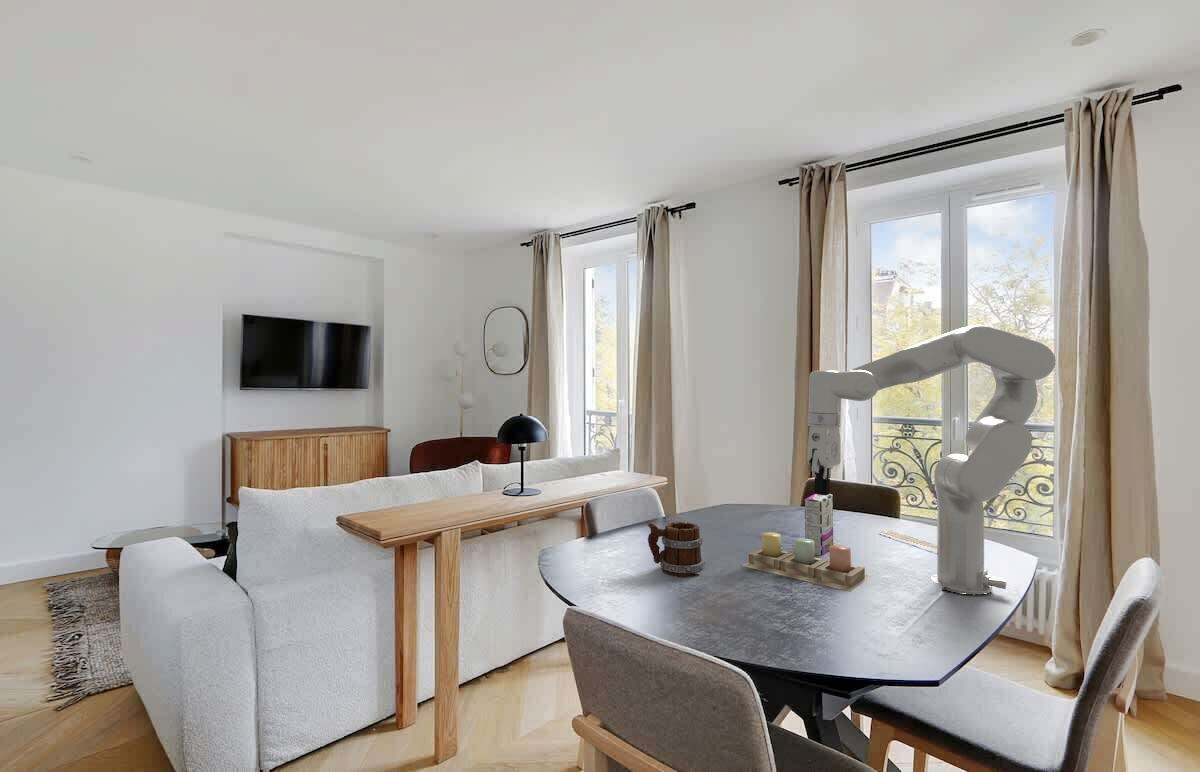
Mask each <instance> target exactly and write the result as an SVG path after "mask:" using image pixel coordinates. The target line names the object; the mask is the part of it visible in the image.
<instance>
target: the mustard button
mask: <svg viewBox="0 0 1200 772" xmlns="http://www.w3.org/2000/svg"><path fill="white" fill-rule="evenodd" d="M761 548H762V554H764V555H767V556H780V555H781V551H782V535H781V534H780V533H777V532H770V531H769V532H763V533H761Z"/></svg>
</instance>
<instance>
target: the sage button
mask: <svg viewBox="0 0 1200 772" xmlns="http://www.w3.org/2000/svg"><path fill="white" fill-rule="evenodd" d="M793 541H794V543H793V544H794V545H793V548H794V549H793V550H794V551H793V553H794V560H795V561H796V562H799V563H814V557H815V554H814V541H813V540H811V539H805V538H804V537H803V538H802V537H799V538H795V539H794V540H793Z"/></svg>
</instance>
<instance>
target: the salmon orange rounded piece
mask: <svg viewBox="0 0 1200 772" xmlns="http://www.w3.org/2000/svg"><path fill="white" fill-rule="evenodd" d="M851 551H852V549H851V547H850V546H848V545H843V544H842V545H841V544H833V545H831V546H829V552H828V553H829V556H828V557H829V559H828V561H829V567H830V568H831V569H833V570H837V571H850V570H851V565H852V563H851V562H852V557H851V556H852V552H851Z"/></svg>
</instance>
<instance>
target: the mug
mask: <svg viewBox="0 0 1200 772" xmlns="http://www.w3.org/2000/svg"><path fill="white" fill-rule="evenodd" d="M647 527H648V528H649V529H650V533H648V537H647V542H648V547H649V550H650V552H651V554H652V556H653V562H654V563H655V564H659V565H660V567H661V571H662V572H663V573H664V574H666V575H668V576H671V577H675V576H676V577H679V578H693V577H697V576H700V575H701V574H700V573H697V572H700V571H703V570H704V568H705V565H706V561H705V560H704V558H702V550H701V546H702V545H703V541H704V539H703V537H702V536H701V535H700V534H701V533H700V526H699V524H696V523H692V522H687V521H686V522H684V521H676V522H671V523H666V524H665V528H660V527H658V526H657V525H656V524H655V523H652V522H648V523H647ZM660 537H661V542H662V545H664V546H663V550H661V551H660V548H661V547H660V546H659V544H658V542H659V539H660Z"/></svg>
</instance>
